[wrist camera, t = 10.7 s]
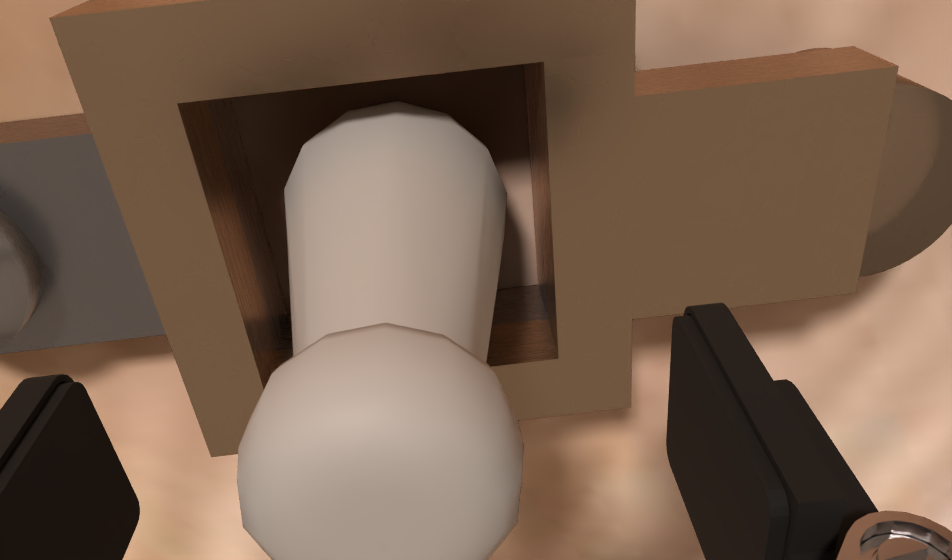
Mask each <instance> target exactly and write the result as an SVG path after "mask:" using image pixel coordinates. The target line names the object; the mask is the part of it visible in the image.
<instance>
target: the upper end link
mask: <svg viewBox="0 0 952 560" xmlns="http://www.w3.org/2000/svg"><path fill="white" fill-rule="evenodd" d="M635 11H636V0H93V1H87V2H84V3H82V4H80V5H78V6H75V7H73V8H71V9H69V10H66V11H64V12H62V13H60V14H57V15H55V16H53V17H51V18H49V19H50V21H51V24H52V27H53V29H54V32H55V35H56V37H57V40H58V43H59V46H60V48H61V51H62V54H63V56H64V59H65V62H66V65H67V67H68V70H69V73H70V75H71V78H72V81H73V84H74V86H75V89H76V92H77V94H78V97H79V100H80V103H81V105H82V108H83V111H84V113H85V116H86V119H87V121H88V124H89V127H90V130H91V132H92V135H93V138H94V140H95V143H96V146H97V149H98V151H99V154H100V157H101V159H102V162H103V165H104V168H105V170H106V173H107V176H108V178H109V181H110V184H111V187H112V189H113V192H114V195H115V197H116V200H117V203H118V205H119V208H120V211H121V214H122V216H123V219H124V222H125V224H126V227H127V230H128V233H129V235H130V238H131V241H132V243H133V246H134V249H135V252H136V254H137V257H138V260H139V262H140V265H141V268H142V271H143V273H144V276H145V279H146V281H147V284H148V287H149V289H150V292H151V295H152V298H153V300H154V303H155V306H156V308H157V311H158V314H159V317H160V319H161V322H162V325H163V327H164V330H165V333H166V336H167V338H168V341H169V344H170V346H171V349H172V352H173V355H174V357H175V360H176V363H177V365H178V368H179V371H180V373H181V376H182V379H183V382H184V384H185V387H186V390H187V392H188V395H189V398H190V401H191V403H192V406H193V409H194V411H195V414H196V417H197V420H198V422H199V425H200V428H201V430H202V433H203V436H204V439H205V441H206V444H207V447H208V449H209V452H210V455H211V457H217V456H225V455H233V454H238V448H239V445H240V442H241V440H242V437H243V435H244V432H245V430H246V427H247V425H248V422H249V420H250V418H251V416H252V413H253V411H254V409H255V407H256V405H257V403H258V401H259V399H260V397H261V395H262V393H263V391H264V389H265V387H266V385H267V383H268V380H269V378H270V376H271V374H272V373H273V372H274V371H275V370H276V369H277V368H278V367H279V366H280V365H281V364H283V363H284V362H286V361H287V360H289V359H290V358H292V357H293V349H287V350H279V351H277V348H276V345H275V341H274V338H273V334H272V331H271V327H270V324H269V320H268V317H267V313H266V310H265V306H264V302H263V299H262V295H261V292H260V288H259V285H258V281H257V278H256V274H255V271H254V267H253V263H252V260H251V256H250V253H249V249H248V246H247V242H246V239H245V235H244V232H243V228H242V224H241V221H240V217H239V214H238V210H237V207H236V203H235V200H234V196H233V193H232V189H231V185H230V182H229V178H228V175H227V171H226V168H225V164H224V161H223V157H222V154H221V150H220V147H219V143H218V139H217V136H216V132H215V129H214V125H213V122H212V118H211V115H210V111H209V108H208V104H207V100H212V99H221V98H229V97H238V96H247V95H256V94H264V93H273V92H282V91H291V90H299V89H308V88H317V87H326V86H334V85H343V84H352V83H361V82H369V81H378V80H387V79H396V78H405V77H413V76H422V75H431V74H440V73H448V72H457V71H466V70H475V69H483V68H492V67H501V66H510V65H518V64H527V63H533V71H534V89H535V106H536V124H537V142H538V159H539V177H540V194H541V212H542V229H543V247H544V264H545V282H546V299H547V317H548V319H542V320H534V321H525V322H517V323H508V324H500V325H492V326H491V333H490V340H489V346H488V353H487V360H486V363H487V364H488V365H489V366H490V367H491V369H492V370H493V371H494V373H495V374H496V376H497V378H498V380H499V382H500V384H501V386H502V388H503V390H504V392H505V394H506V396H507V398H508V400H509V402H510V404H511V406H512V408H513V410H514V412H515V414H516V416H517V419H518V421H520V420H528V419H536V418H545V417H553V416H562V415H570V414H579V413H587V412H595V411H604V410H612V409H621V408H629V407H631V372H632V319H640V318H648V317H657V316H665V315H674V314H682V313H684V311H685V308H686V307H687V306H694V305H703V304H712V303H724V304H725V305H726V306H727V307H728V308H733V307H742V306H750V305H759V304H767V303H776V302H784V301H793V300H801V299H810V298H818V297H827V296H835V295H844V294H852V293H856V291H857V285H858V280H859V277H861V276H867V275H872V274H876V273H879V272H883V271H886V270H888V269H891V268H893V267H896V266H898V265H900V264H902V263H904V262H906V261H908V260H910V259H911V258H913V257H914V256H916V255H918V254H919V253H921V252H922V251H923V250H925V249H926V248H927V247H929V246H930V245H931V244H932V243H934V242H935V241H936V240H937V239H938V238H939V237H940V236H941V235H942V234H943V233H944V232H945V231H946V230H947V229H948V228H949V226H950V225H951V224H952V100H950V99H949V98H947V97H946V96H944V95H941V94H939V93H937V92H935V91H933V90H931V89H928V88H926V87H924V86H922V85H920V84H917V83H915V82H913V81H911V80H909V79H907V78H904V77H902V76H900V75H898V74H897V72H898V67H899V66H897V65H895V64H893V63H890V62H888V61H886V60H884V59H881V58H879V57H877V56H875V55H872V54H870V53H868V52H866V51H863V50H861V49H859V48H856V47H854V46H851V47H843V48H834V49H832V48H814V49H808V50H803V51H799V52H796V53H790V54H782V55H773V56H764V57H755V58H747V59H738V60H729V61H720V62H712V63H703V64H694V65H685V66H677V67H668V68H659V69H650V70H642V71H635Z"/></svg>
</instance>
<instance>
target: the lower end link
mask: <svg viewBox="0 0 952 560" xmlns="http://www.w3.org/2000/svg"><path fill="white" fill-rule="evenodd" d="M89 1H93V0H89ZM524 67H525V83H526V99H527V115H528V131H529V147H530V163H531V179H532V195H533V210H534V226H535V242H536V258H537V274H538V285H533V286H524V287H515V288H507V289H498V290H497V291H496V298H495V305H494V312H493V319H492V325H500V324H508V323H517V322H525V321H534V320H542V319H548V317H547V299H546V282H545V264H544V247H543V229H542V212H541V194H540V177H539V159H538V142H537V124H536V106H535V89H534V71H533V63H527V64H524ZM207 104H208V108H209V111H210V115H211V118H212V122H213V125H214V129H215V132H216V136H217V139H218V143H219V147H220V150H221V154H222V157H223V161H224V164H225V168H226V171H227V175H228V178H229V182H230V185H231V189H232V193H233V196H234V200H235V203H236V207H237V210H238V214H239V217H240V221H241V224H242V228H243V232H244V235H245V239H246V242H247V246H248V249H249V253H250V256H251V260H252V263H253V267H254V271H255V274H256V278H257V281H258V285H259V288H260V292H261V295H262V299H263V302H264V306H265V310H266V313H267V317H268V320H269V324H270V327H271V331H272V334H273V338H274V341H275V345H276V348H277V351H279V350H287V349H293V340H292V321H291V314H287V310H286V306H285V303H284V299H283V295H282V291H281V288H280V284H279V280H278V276H277V273H276V269H275V265H274V261H273V258H272V254H271V250H270V246H269V242H268V239H267V235H266V231H265V227H264V224H263V220H262V216H261V212H260V209H259V205H258V201H257V197H256V194H255V190H254V186H253V182H252V178H251V175H250V171H249V167H248V163H247V160H246V156H245V152H244V148H243V145H242V141H241V137H240V133H239V129H238V126H237V122H236V118H235V114H234V111H233V107H232V103H231V99H230V97H229V98H221V99H212V100H207ZM165 334H166V333H165V330H164V327H163V325H162V322H161V319H160V317H159V314H158V311H157V308H156V306H155V303H154V300H153V298H152V295H151V292H150V289H149V287H148V284H147V281H146V279H145V276H144V273H143V271H142V268H141V265H140V262H139V260H138V257H137V254H136V252H135V249H134V246H133V243H132V241H131V238H130V235H129V233H128V230H127V227H126V224H125V222H124V219H123V216H122V214H121V211H120V208H119V205H118V203H117V200H116V197H115V195H114V192H113V189H112V187H111V184H110V181H109V178H108V176H107V173H106V170H105V168H104V165H103V162H102V159H101V157H100V154H99V151H98V149H97V146H96V143H95V140H94V138H93V135H92V132H91V130H90V127H89V124H88V121H87V119H86V116H85V113H83V114H74V115H65V116H57V117H48V118H39V119H30V120H22V121H13V122H4V123H0V354H3V353H11V352H20V351H29V350H37V349H46V348H54V347H63V346H71V345H80V344H88V343H97V342H105V341H114V340H122V339H131V338H140V337H148V336H157V335H165Z"/></svg>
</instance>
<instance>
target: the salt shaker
mask: <svg viewBox="0 0 952 560" xmlns="http://www.w3.org/2000/svg"><path fill="white" fill-rule="evenodd" d="M284 195H285V211H286V228H287V246H288V265H289V283H290V302H291V321H292V340H293V357H292V358H290V359H289V360H287V361H286V362H284V363H283V364H281V365H280V366H279V367H278V368H277V369H276V370H275V371H274V372H273V373H272V374H271V376H270V378H269V380H268V383H267V385H266V387H265V389H264V391H263V393H262V395H261V397H260V399H259V401H258V403H257V405H256V407H255V409H254V411H253V413H252V416H251V418H250V420H249V422H248V425H247V427H246V430H245V432H244V435H243V437H242V440H241V442H240V445H239V448H238V470H237V485H238V492H239V500H240V508H241V515H242V523H243V527H244V529H245V530H246V531H247V532H248V533H249V534H250V535H251V537H252V538H253V539H254V540H255V541H256V542H257V543H258V545H259V546H260V547H261V548H262V549H263V550H264V551H265V552H266V554H267V555H268V556H269V557H270V558H271V559H272V560H488V559H489V558H490V556H491V555H492V554H493V553H494V551H495V550H496V549H497V547H498V546H499V545H500V544H501V542H502V541H503V540H504V539H505V537H506V536H507V535H508V534H509V532H510V531H511V530H512V529H513V527H514V526H515V525H516V524H517V522H518V512H519V501H520V490H521V480H522V465H523V450H524V443H523V439H522V435H521V431H520V427H519V423H518V419H517V416H516V414H515V412H514V410H513V408H512V406H511V404H510V402H509V400H508V398H507V396H506V394H505V392H504V390H503V388H502V386H501V384H500V382H499V380H498V378H497V376H496V374H495V373H494V371H493V370H492V369H491V367H490V366H489V365H488V364H487V363H486V360H487V353H488V346H489V340H490V333H491V326H492V319H493V312H494V305H495V298H496V291H497V284H498V277H499V270H500V263H501V256H502V249H503V242H504V231H505V217H506V203H507V192H506V190H505V188H504V185H503V183H502V181H501V178H500V176H499V174H498V172H497V169H496V167H495V165H494V162H493V160H492V158H491V155H490V153H489V151H488V149H487V148H486V146H485V145H484V144H483V143H482V142H481V141H479V140H478V139H477V138H476V137H475V136H473V135H472V134H471V133H470V132H469V131H467V130H466V129H465V128H464V127H463V126H461V125H460V124H459V123H458V122H456V121H455V120H454V119H453V118H452V117H450V116H449V115H448V114H446V113H443V112H439V111H435V110H431V109H427V108H423V107H419V106H415V105H412V104H408V103H404V102H400V101H394V102H389V103H384V104H379V105H374V106H369V107H364V108H359V109H354V110H349V111H347V112H346V113H344V114H343V115H342V116H340V117H339V118H338V119H336V120H335V121H334V122H332V123H331V124H330V125H328V126H327V127H326V128H324V129H323V130H322V131H320V132H319V133H318V134H316V135H315V136H314V137H312V138H311V139H309V140H308V141H307V142H306V143H305V144H304V145H303V146H302V149H301V151H300V153H299V156H298V158H297V160H296V163H295V165H294V167H293V170H292V172H291V174H290V177H289V179H288V182H287V184H286V186H285V189H284Z"/></svg>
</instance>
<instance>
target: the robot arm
mask: <svg viewBox="0 0 952 560" xmlns="http://www.w3.org/2000/svg"><path fill="white" fill-rule="evenodd" d="M666 446H667V454H668V459H669V463H670V466H671V469H672V472H673V474H674V477H675V480H676V482H677V485H678V487H679V490H680V493H681V495H682V498H683V501H684V503H685V506H686V509H687V511H688V514H689V516H690V519H691V522H692V524H693V527H694V530H695V532H696V535H697V538H698V540H699V543H700V545H701V548H702V551H703V553H704V556H705V559H706V560H952V532H951V531H950V530H949V529H947V528H946V527H944V526H942V525H940V524H938V523H936V522H934V521H932V520H930V519H927V518H925V517H921V516H918V515H914V514H911V513H907V512H898V511H881V512H878V510H877V508H876V507H875V505H874V504H873V502H872V501H871V499H870V498H869V496H868V495H867V493H866V492H865V490H864V489H863V487H862V486H861V484H860V483H859V481H858V480H857V478H856V477H855V475H854V474H853V472H852V471H851V469H850V468H849V466H848V465H847V463H846V461H845V460H844V458H843V457H842V455H841V454H840V452H839V451H838V449H837V448H836V446H835V445H834V443H833V442H832V440H831V439H830V437H829V436H828V434H827V433H826V431H825V430H824V428H823V427H822V425H821V424H820V422H819V421H818V419H817V418H816V416H815V414H814V413H813V411H812V410H811V408H810V407H809V405H808V404H807V402H806V401H805V399H804V398H803V396H802V395H801V393H800V392H799V390H798V389H797V388H796V386H795V385H794V384H793V383H792V382H790V381H788V380H776V381H773V379H772V378H771V376H770V374H769V373H768V371H767V370H766V368H765V366H764V365H763V363H762V362H761V360H760V358H759V357H758V355H757V354H756V352H755V350H754V349H753V347H752V346H751V344H750V342H749V341H748V339H747V338H746V336H745V334H744V333H743V331H742V330H741V328H740V326H739V325H738V323H737V322H736V320H735V318H734V317H733V315H732V314H731V312H730V310H729V309H728V307H727V306H726V305H725V304H724V303H712V304H703V305H694V306H687V307H686V308H685V311H684V316H678V317H675V318H674V319H673V325H672V343H671V362H670V381H669V401H668V420H667V439H666ZM139 515H140V507H139V501H138V498H137V496H136V494H135V492H134V490H133V488H132V486H131V484H130V481H129V479H128V477H127V475H126V473H125V471H124V469H123V467H122V465H121V462H120V460H119V458H118V456H117V454H116V452H115V450H114V448H113V446H112V443H111V441H110V439H109V437H108V435H107V433H106V431H105V429H104V427H103V424H102V422H101V420H100V418H99V416H98V414H97V412H96V410H95V408H94V406H93V403H92V401H91V399H90V397H89V395H88V393H87V391H86V389H85V387H84V386H83V385H82V384H81V383H80V382H74V381H73V380H72V378H70V377H69V376H68V375H64V374H60V375H51V376H42V377H32V378H27V379H24V380H23V381H22V382H21V383H20V384H19V385H18V387H17V388H16V389H15V391H14V392H13V393H12V395H11V396H10V397H9V399H8V400H7V401H6V403H5V404H4V406H3V407H2V408H1V410H0V560H122V559H123V557H124V555H125V552H126V550H127V548H128V545H129V543H130V540H131V538H132V536H133V533H134V531H135V529H136V526H137V524H138V520H139Z"/></svg>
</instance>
